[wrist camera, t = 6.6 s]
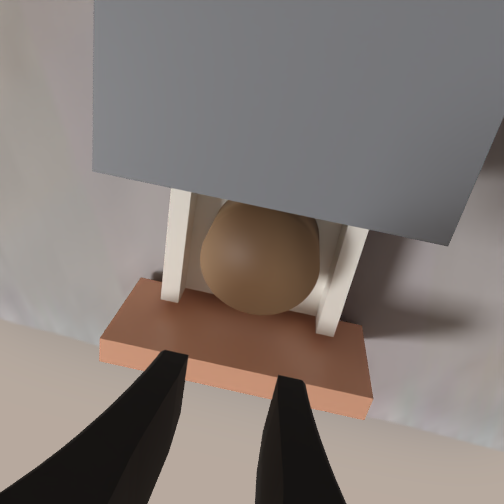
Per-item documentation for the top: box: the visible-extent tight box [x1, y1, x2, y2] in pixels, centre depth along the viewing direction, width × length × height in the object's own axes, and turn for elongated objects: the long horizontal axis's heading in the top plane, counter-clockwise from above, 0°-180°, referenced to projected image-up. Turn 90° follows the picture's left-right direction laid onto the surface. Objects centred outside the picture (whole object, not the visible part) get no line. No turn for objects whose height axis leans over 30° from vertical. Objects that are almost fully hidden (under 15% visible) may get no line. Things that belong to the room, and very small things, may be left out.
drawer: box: [99, 188, 373, 420], centre depth 18 cm, size 11×10×5 cm
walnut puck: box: [200, 200, 320, 315], centre depth 18 cm, size 5×5×2 cm
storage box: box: [92, 0, 504, 246], centre depth 14 cm, size 11×10×6 cm
